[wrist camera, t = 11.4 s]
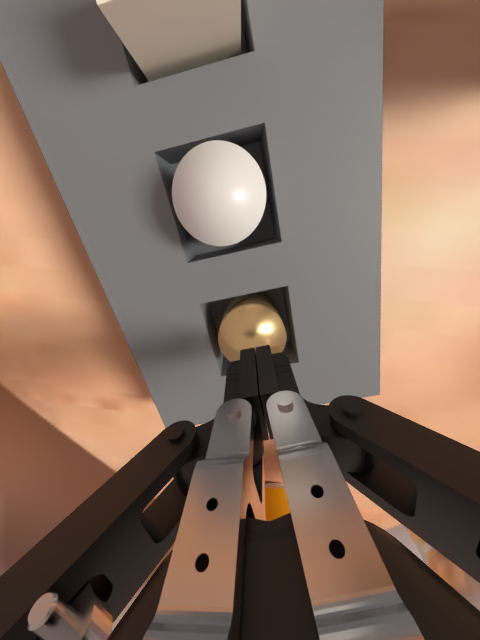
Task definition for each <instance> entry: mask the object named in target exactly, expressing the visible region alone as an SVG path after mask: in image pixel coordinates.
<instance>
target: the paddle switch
mask: <svg viewBox="0 0 480 640" xmlns="http://www.w3.org/2000/svg"><path fill="white" fill-rule="evenodd" d="M96 2H97V5H98V7H99V8H100V10H101V11H102V13H103V14H104V16H105V17H106V19H107V20H108V22H109V23H110V24H111V26H112V27H113V29H114V30H115V32H116V33H117V35H118V36H119V38H120V39H121V41H122V42H123V44H124V45H125V47H126V48H127V50H128V51H129V53H130V54H131V56H132V57H133V58H134V60H135V61H136V63H137V64H138V66H139V67H140V69H141V70H142V72H143V73H144V75H145V76H146V78H147V79H148V81H149V82H150V81H154V80H157V79H160V78H164V77H167V76H171V75H174V74H177V73H181V72H184V71H188V70H191V69H194V68H198V67H201V66H205V65H208V64H211V63H215V62H218V61H222V60H225V59H228V58H232V57H235V56H239V55H241V0H96Z"/></svg>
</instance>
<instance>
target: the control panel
mask: <svg viewBox="0 0 480 640" xmlns="http://www.w3.org/2000/svg"><path fill="white" fill-rule="evenodd" d="M383 19H384V0H241V55H239V56H235V57H232V58H228V59H225V60H222V61H218V62H215V63H211V64H208V65H205V66H201V67H198V68H194V69H191V70H188V71H184V72H181V73H177V74H174V75H171V76H167V77H164V78H160V79H157V80H154V81H150V82H149V81H148V79H147V78H146V76H145V75H144V73H143V72H142V70H141V69H140V67H139V66H138V64H137V63H136V61H135V60H134V58H133V57H132V56H131V54H130V53H129V51H128V50H127V48H126V47H125V45H124V44H123V42H122V41H121V39H120V38H119V36H118V35H117V33H116V32H115V30H114V29H113V27H112V26H111V24H110V23H109V22H108V20H107V19H106V17H105V16H104V14H103V13H102V11H101V10H100V8H99V7H98V5H97V2H96V0H0V61H1V63H2V65H3V68H4V70H5V72H6V74H7V77H8V79H9V81H10V83H11V85H12V88H13V90H14V92H15V94H16V96H17V99H18V101H19V103H20V105H21V108H22V110H23V112H24V114H25V116H26V119H27V121H28V123H29V125H30V128H31V130H32V132H33V134H34V136H35V139H36V141H37V143H38V145H39V148H40V150H41V152H42V154H43V156H44V159H45V161H46V163H47V165H48V168H49V170H50V172H51V174H52V176H53V179H54V181H55V183H56V185H57V188H58V190H59V192H60V194H61V196H62V199H63V201H64V203H65V205H66V208H67V210H68V212H69V214H70V216H71V219H72V221H73V223H74V225H75V228H76V230H77V232H78V234H79V236H80V239H81V241H82V243H83V245H84V247H85V250H86V252H87V254H88V256H89V259H90V261H91V263H92V265H93V267H94V270H95V272H96V274H97V276H98V279H99V281H100V283H101V285H102V287H103V290H104V292H105V294H106V296H107V299H108V301H109V303H110V305H111V307H112V310H113V312H114V314H115V316H116V319H117V321H118V323H119V325H120V327H121V330H122V332H123V334H124V336H125V339H126V341H127V343H128V345H129V347H130V350H131V352H132V354H133V356H134V359H135V361H136V363H137V365H138V367H139V370H140V372H141V374H142V376H143V379H144V381H145V383H146V385H147V387H148V390H149V392H150V394H151V396H152V398H153V401H154V403H155V405H156V407H157V410H158V412H159V414H160V416H161V418H162V421H163V423H164V425H165V427H166V428H167V427H168V426H170V425H171V424H173V423H175V422H178V421H183V420H187V421H190V422H192V423H193V424H194V425H197V424H203V423H207V422H209V421H211V420H212V419H214V418H215V415H216V411H217V410H218V408H219V407H220V406H221V405H222V404H223V402H224V393H225V383H226V373H227V367H228V366H229V365H230V363H231V362H230V361H229V360H228V359H227V358H226V357H225V356H224V355H223V353H222V351H221V350H220V347H219V343H218V333H219V328H220V323H221V318H222V312H223V309H224V306H225V304H226V302H227V301H228V300H229V299H230V298H231V297H236V296H241V295H245V294H250V293H255V292H262V293H264V294H266V295H268V296H269V297H270V298H271V299H272V300H273V301H274V303H275V305H276V307H277V309H278V312H279V314H280V317H281V319H282V322H283V324H284V327H285V330H286V336H287V338H286V345H285V347H284V350H283V352H282V353H284V354H285V355H286V356H287V357H288V358H289V362H290V365H291V368H292V371H293V374H294V377H295V380H296V384H297V387H298V390H299V393H300V395H301V396H302V397H303V398H304V399H305V400H307V401H308V402H311V403H314V404H325V403H330V402H331V401H332V400H333V399H335V398H336V397H339V396H343V395H352V396H357V397H360V398H362V397H368V396H375V395H380V314H381V215H382V117H383ZM213 140H222V141H228V142H231V143H234V144H236V145H238V146H240V147H241V148H243V149H244V150H246V151H247V152H248V153H249V154H250V155H251V156H252V157H253V158H254V159H255V161H256V162H257V164H258V165H259V167H260V169H261V171H262V174H263V177H264V180H265V185H266V205H265V209H264V213H263V216H262V218H261V220H260V222H259V224H258V226H257V227H256V228H255V230H254V231H253V232H252V233H251V234H250V235H249V236H248V237H246V238H245V239H243V240H242V241H240V242H238V243H236V244H232V245H228V246H213V245H209V244H206V243H203V242H201V241H199V240H197V239H196V238H194V237H193V236H192V235H191V234H190V233H189V232H188V231H187V230H186V229H185V228H184V227H183V225H182V224H181V222H180V221H179V219H178V217H177V215H176V212H175V209H174V205H173V200H172V183H173V178H174V174H175V171H176V169H177V167H178V165H179V163H180V161H181V160H182V158H183V157H184V156H185V155H186V154H187V153H188V152H189V151H190V150H191V149H193V148H194V147H196V146H197V145H199V144H201V143H204V142H207V141H213Z"/></svg>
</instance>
